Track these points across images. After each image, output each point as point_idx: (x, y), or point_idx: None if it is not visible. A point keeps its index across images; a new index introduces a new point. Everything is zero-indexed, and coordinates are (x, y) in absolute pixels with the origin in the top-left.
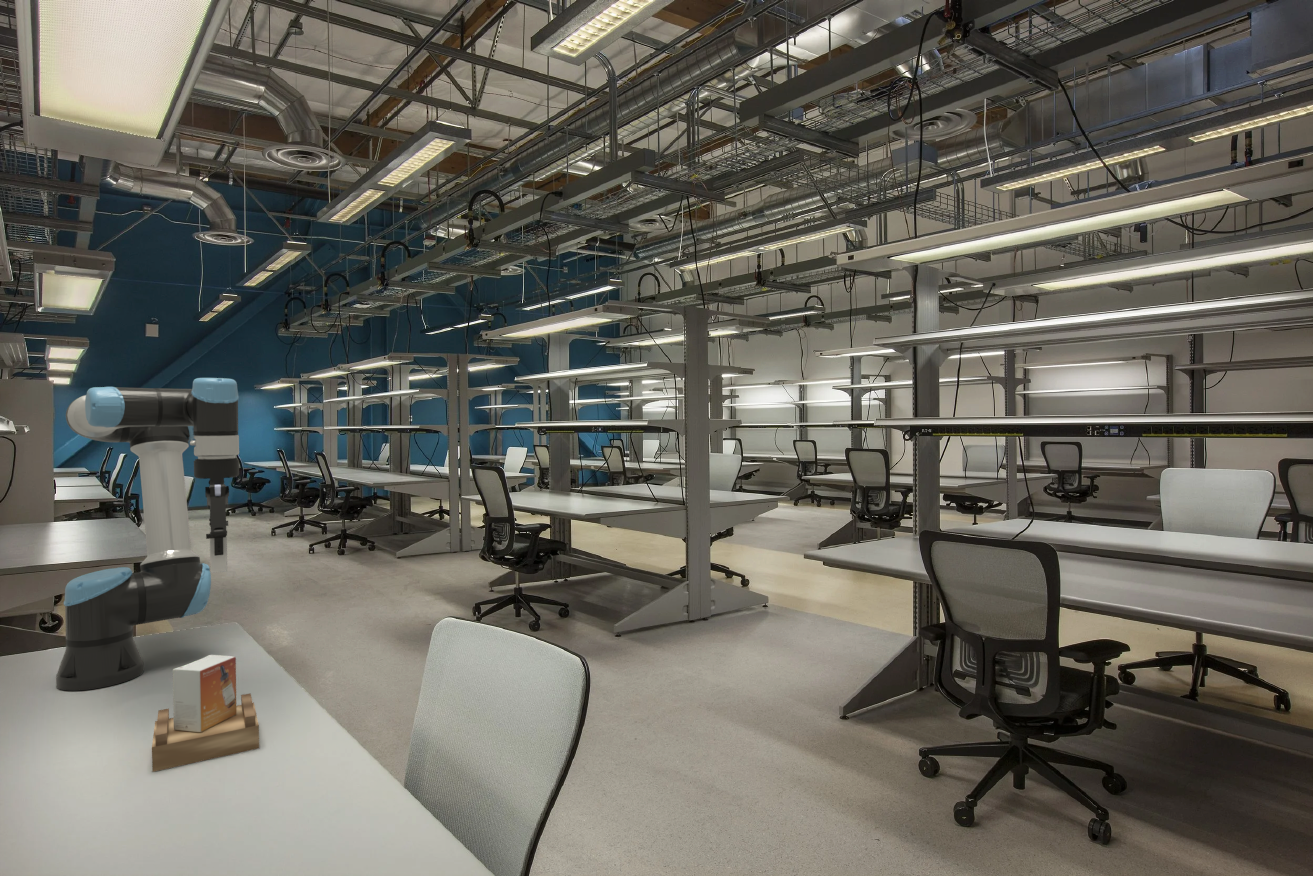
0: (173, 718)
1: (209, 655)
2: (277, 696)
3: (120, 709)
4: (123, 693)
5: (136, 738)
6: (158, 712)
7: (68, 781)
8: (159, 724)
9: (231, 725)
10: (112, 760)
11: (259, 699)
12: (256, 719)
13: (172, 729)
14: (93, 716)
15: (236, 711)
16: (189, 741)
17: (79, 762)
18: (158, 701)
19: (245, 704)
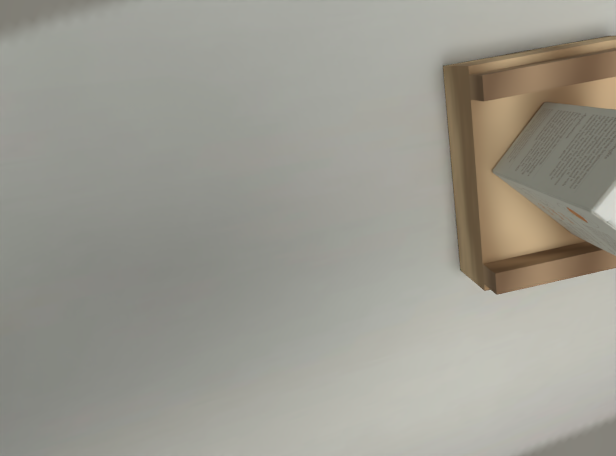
0: (486, 254)
1: (605, 211)
2: (241, 19)
3: (182, 411)
4: (47, 445)
5: (404, 318)
6: (512, 290)
7: (563, 369)
8: (599, 266)
9: (612, 103)
10: (505, 328)
11: (247, 73)
12: (606, 43)
13: (562, 238)
14: (211, 451)
15: (550, 102)
16: None
17: (482, 383)
18: (153, 342)
19: (572, 77)
